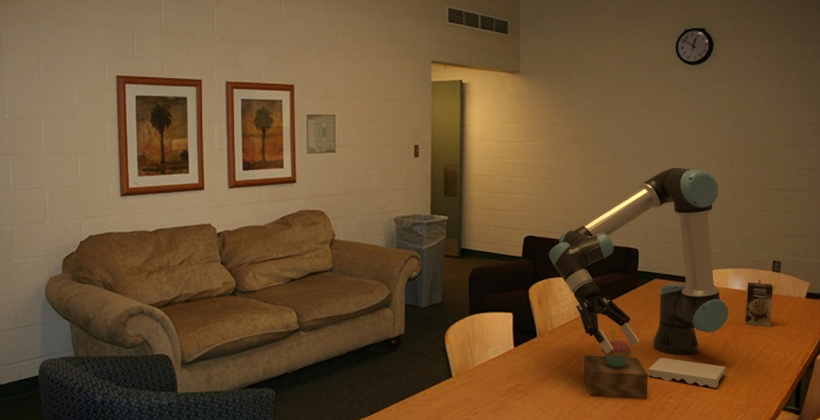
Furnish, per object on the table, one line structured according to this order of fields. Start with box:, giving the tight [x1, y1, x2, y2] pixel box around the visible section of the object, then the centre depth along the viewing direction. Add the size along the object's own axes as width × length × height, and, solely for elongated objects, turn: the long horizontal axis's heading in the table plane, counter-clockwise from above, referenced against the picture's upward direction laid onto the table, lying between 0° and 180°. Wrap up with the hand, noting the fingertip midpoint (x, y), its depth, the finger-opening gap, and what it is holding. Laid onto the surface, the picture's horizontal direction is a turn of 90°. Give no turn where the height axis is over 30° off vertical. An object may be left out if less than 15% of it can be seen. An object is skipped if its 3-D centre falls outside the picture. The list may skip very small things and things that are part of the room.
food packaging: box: [647, 357, 726, 389], centre depth 236 cm, size 15×3×20 cm
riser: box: [583, 355, 649, 399], centre depth 225 cm, size 16×16×7 cm
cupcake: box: [601, 327, 632, 367], centre depth 224 cm, size 9×8×12 cm
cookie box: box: [744, 282, 774, 327], centre depth 300 cm, size 9×6×16 cm
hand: (623, 347), depth 222 cm, fingers open, 12 cm apart
